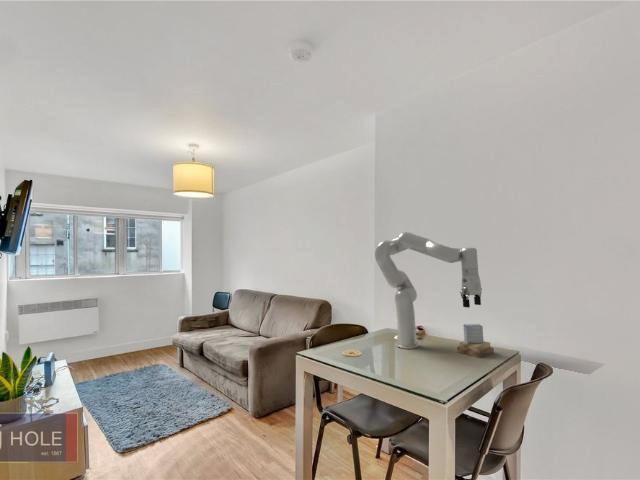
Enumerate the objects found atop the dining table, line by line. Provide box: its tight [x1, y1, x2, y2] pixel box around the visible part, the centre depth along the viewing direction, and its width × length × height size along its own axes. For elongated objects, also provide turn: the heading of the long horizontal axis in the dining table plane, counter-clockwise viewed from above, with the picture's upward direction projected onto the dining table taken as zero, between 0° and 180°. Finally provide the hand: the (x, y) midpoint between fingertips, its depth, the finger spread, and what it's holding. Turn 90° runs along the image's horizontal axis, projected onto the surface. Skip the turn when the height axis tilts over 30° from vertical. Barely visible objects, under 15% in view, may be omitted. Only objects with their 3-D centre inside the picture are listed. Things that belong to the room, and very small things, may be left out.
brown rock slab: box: [456, 340, 495, 359], centre depth 161 cm, size 12×12×5 cm
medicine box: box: [462, 323, 484, 343], centre depth 161 cm, size 8×4×9 cm, turn 84°
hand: (472, 305), depth 162 cm, fingers open, 9 cm apart
